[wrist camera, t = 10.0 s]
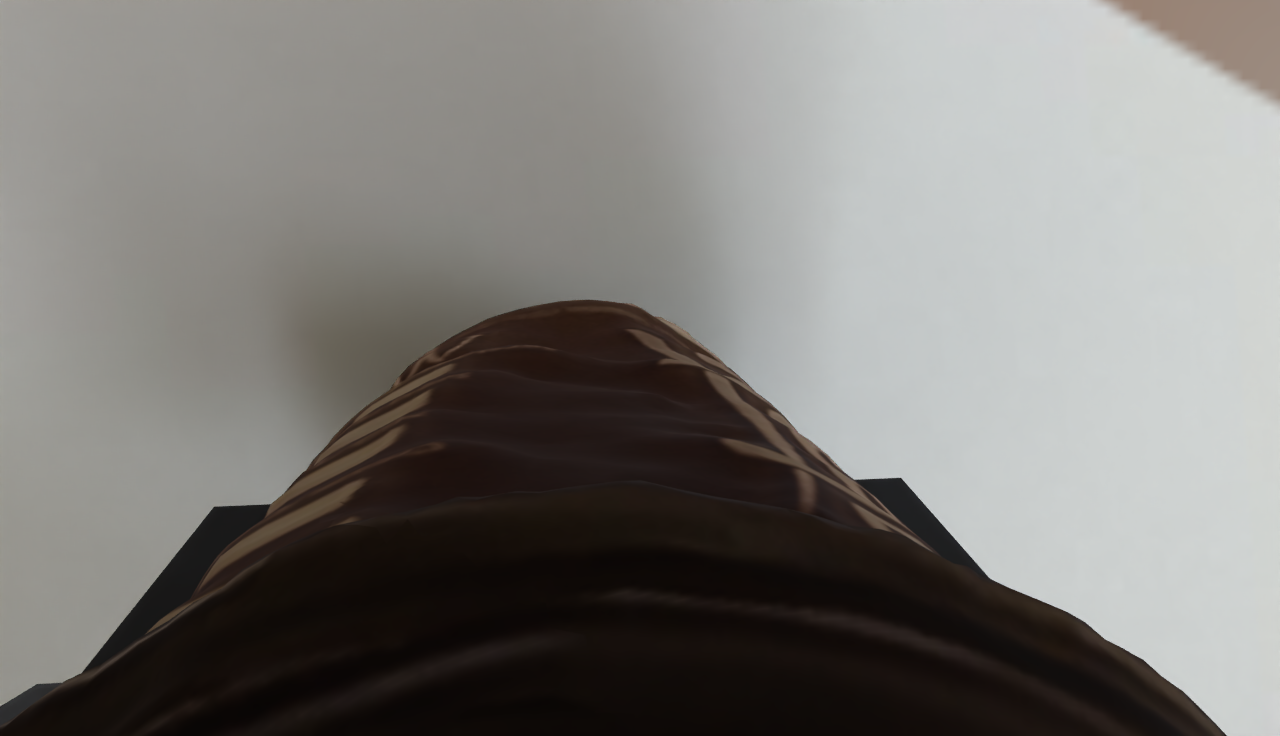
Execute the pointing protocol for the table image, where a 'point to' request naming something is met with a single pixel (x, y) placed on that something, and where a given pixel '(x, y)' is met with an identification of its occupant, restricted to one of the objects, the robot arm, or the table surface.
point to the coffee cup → (598, 577)
